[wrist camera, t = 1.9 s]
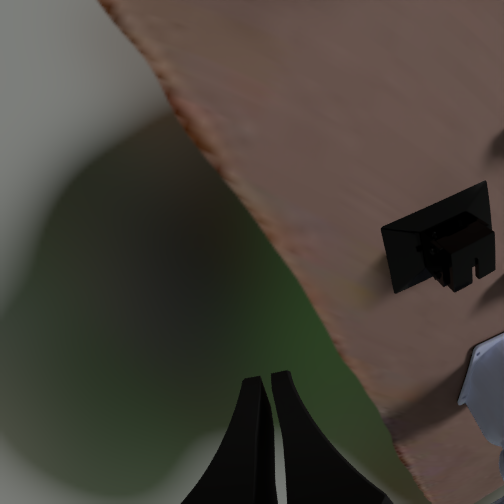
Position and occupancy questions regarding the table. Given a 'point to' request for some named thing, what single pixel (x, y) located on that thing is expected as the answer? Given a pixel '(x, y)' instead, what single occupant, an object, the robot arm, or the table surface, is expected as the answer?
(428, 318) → the table surface
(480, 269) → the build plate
